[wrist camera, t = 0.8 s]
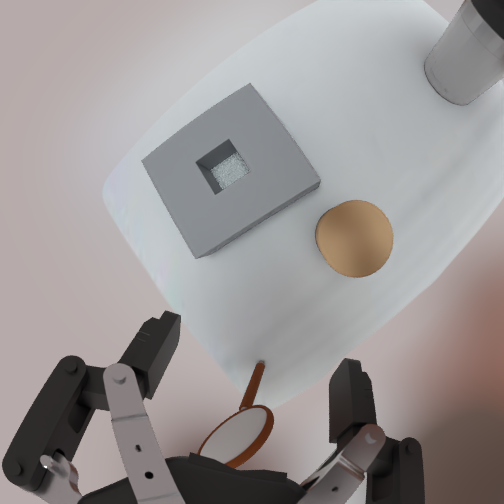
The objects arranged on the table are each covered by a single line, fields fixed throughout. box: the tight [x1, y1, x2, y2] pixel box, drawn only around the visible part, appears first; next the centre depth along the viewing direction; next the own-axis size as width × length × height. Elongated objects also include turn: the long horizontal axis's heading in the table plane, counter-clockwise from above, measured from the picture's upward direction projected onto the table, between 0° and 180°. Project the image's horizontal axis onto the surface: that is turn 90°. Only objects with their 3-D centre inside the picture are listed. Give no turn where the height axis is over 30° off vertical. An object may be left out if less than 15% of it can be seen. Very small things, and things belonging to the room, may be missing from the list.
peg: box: [315, 200, 393, 278], centre depth 26 cm, size 6×6×13 cm
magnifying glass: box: [197, 361, 274, 468], centre depth 26 cm, size 9×2×20 cm, turn 130°
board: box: [142, 83, 321, 259], centre depth 32 cm, size 16×14×5 cm
